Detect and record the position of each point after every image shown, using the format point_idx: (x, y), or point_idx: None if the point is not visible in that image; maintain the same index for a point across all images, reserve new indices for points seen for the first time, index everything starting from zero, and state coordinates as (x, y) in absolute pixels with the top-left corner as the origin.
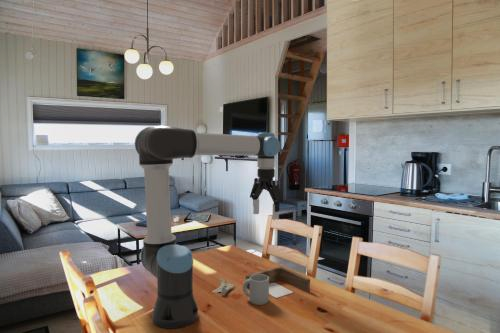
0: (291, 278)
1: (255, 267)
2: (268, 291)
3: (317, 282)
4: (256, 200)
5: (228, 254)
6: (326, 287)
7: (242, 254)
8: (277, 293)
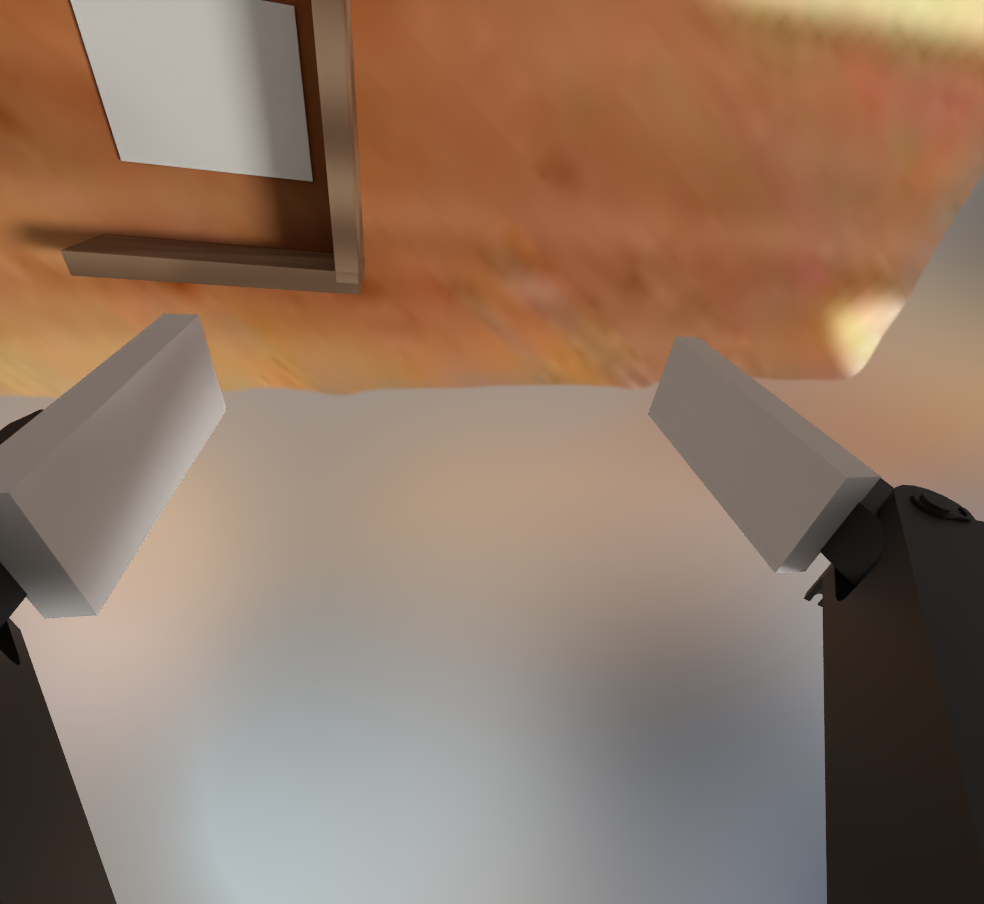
0: (232, 253)
1: (560, 269)
2: None
3: None
4: (802, 512)
5: (799, 287)
6: None
7: (733, 346)
8: (133, 45)
